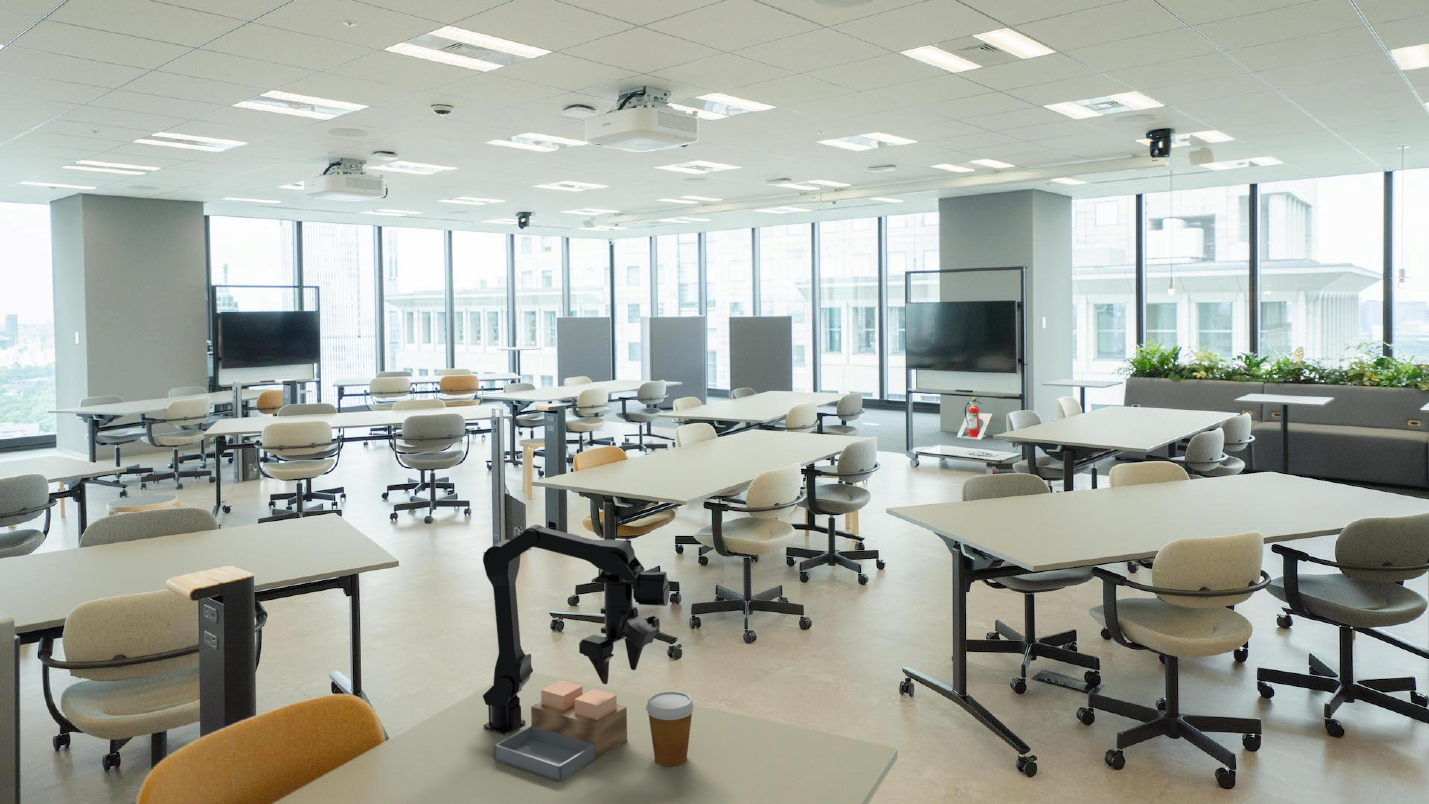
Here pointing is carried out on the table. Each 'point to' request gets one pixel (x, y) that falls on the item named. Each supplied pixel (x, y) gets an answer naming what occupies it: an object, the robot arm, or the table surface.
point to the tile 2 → (595, 704)
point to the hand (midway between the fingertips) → (619, 676)
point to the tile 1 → (560, 695)
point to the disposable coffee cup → (670, 726)
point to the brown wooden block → (583, 725)
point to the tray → (545, 753)
